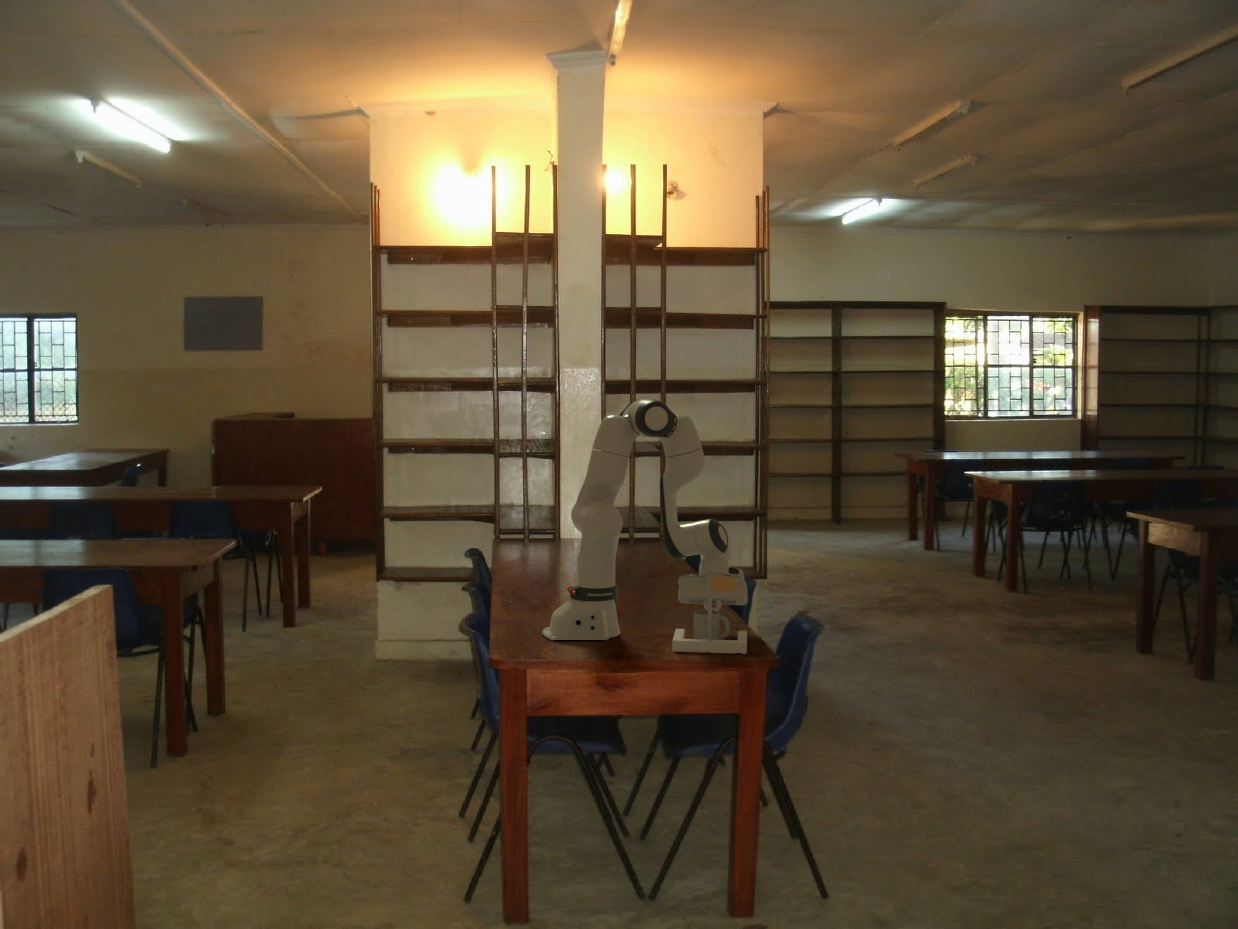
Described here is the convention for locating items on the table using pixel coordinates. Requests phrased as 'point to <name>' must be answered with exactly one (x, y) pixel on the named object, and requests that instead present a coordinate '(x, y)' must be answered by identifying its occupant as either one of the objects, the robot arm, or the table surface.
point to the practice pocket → (708, 644)
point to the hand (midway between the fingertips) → (712, 615)
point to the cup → (702, 625)
